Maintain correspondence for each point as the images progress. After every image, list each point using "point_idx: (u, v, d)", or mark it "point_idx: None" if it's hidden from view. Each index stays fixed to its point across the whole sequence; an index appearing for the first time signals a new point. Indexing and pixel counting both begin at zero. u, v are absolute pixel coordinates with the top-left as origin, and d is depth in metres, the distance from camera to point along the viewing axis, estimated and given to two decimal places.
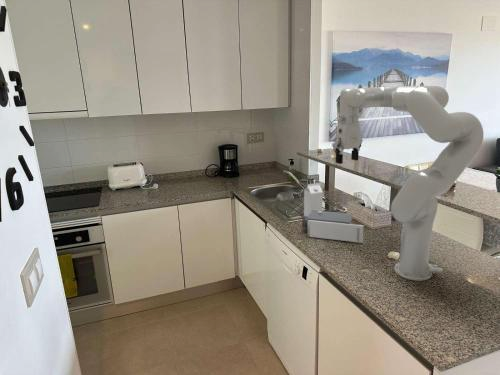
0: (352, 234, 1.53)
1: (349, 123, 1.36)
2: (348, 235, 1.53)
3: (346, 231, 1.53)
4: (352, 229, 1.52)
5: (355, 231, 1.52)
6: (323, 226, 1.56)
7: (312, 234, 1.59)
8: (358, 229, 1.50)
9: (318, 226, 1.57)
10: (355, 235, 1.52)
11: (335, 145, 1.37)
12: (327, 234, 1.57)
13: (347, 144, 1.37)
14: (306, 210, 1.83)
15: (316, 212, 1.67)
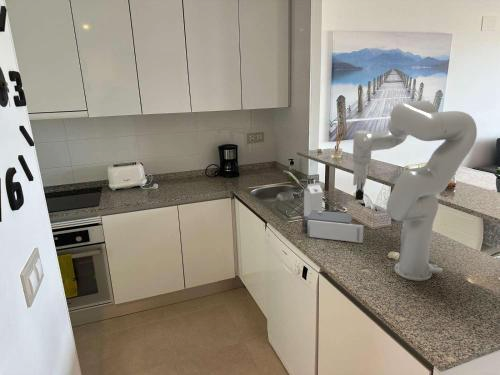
0: (352, 234, 1.53)
1: None
2: (348, 235, 1.53)
3: (346, 231, 1.53)
4: (352, 229, 1.52)
5: (355, 231, 1.52)
6: (323, 226, 1.56)
7: (312, 234, 1.59)
8: (358, 229, 1.50)
9: (318, 226, 1.57)
10: (355, 235, 1.52)
11: None
12: (327, 234, 1.57)
13: None
14: (306, 210, 1.83)
15: (316, 212, 1.67)
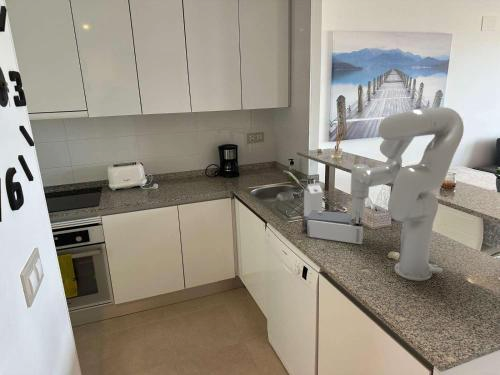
0: (352, 235, 1.51)
1: None
2: (348, 236, 1.52)
3: (346, 232, 1.52)
4: (351, 230, 1.51)
5: (355, 232, 1.50)
6: (323, 226, 1.56)
7: (312, 234, 1.59)
8: (357, 230, 1.49)
9: (317, 226, 1.57)
10: (355, 236, 1.51)
11: None
12: (326, 234, 1.56)
13: None
14: (306, 210, 1.83)
15: (316, 212, 1.67)
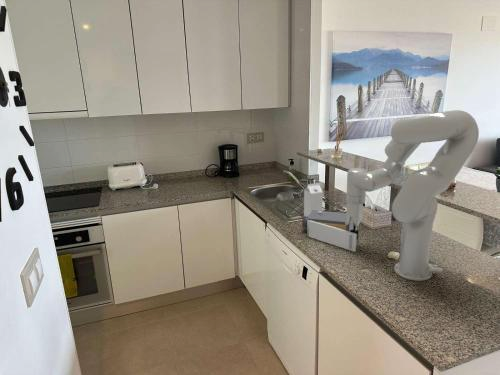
0: (345, 241, 1.46)
1: None
2: (342, 241, 1.47)
3: (340, 237, 1.48)
4: (345, 235, 1.46)
5: (348, 238, 1.45)
6: (320, 228, 1.54)
7: (311, 234, 1.59)
8: (350, 236, 1.43)
9: (315, 227, 1.56)
10: (348, 242, 1.45)
11: None
12: (323, 237, 1.54)
13: None
14: (306, 210, 1.83)
15: (316, 212, 1.67)
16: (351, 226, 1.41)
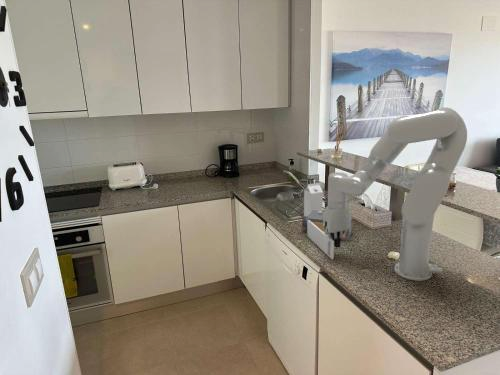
0: (326, 246, 1.42)
1: None
2: (324, 246, 1.43)
3: (324, 241, 1.44)
4: (326, 240, 1.41)
5: (328, 244, 1.40)
6: (313, 229, 1.53)
7: (309, 235, 1.59)
8: (328, 243, 1.38)
9: (311, 228, 1.55)
10: (328, 248, 1.41)
11: None
12: (315, 239, 1.52)
13: None
14: (306, 210, 1.83)
15: (316, 212, 1.67)
16: (325, 231, 1.37)
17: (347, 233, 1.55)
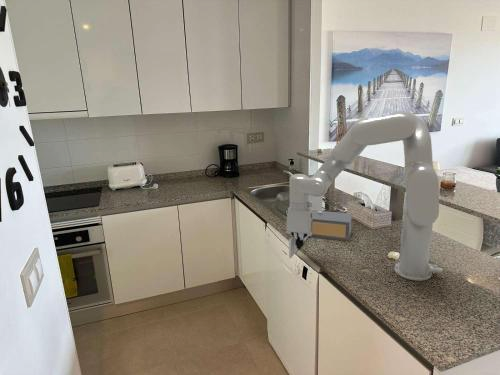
0: None
1: None
2: None
3: None
4: None
5: None
6: None
7: None
8: None
9: None
10: None
11: None
12: None
13: None
14: None
15: (316, 212, 1.67)
16: None
17: (347, 233, 1.55)
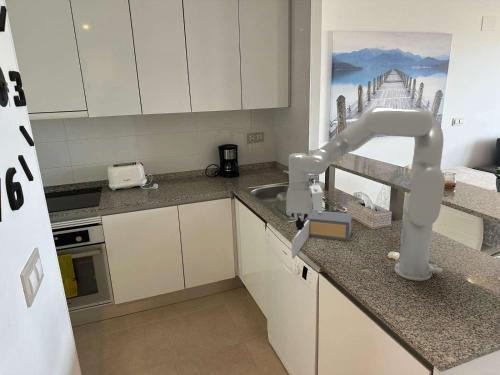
0: None
1: None
2: None
3: None
4: None
5: None
6: None
7: None
8: None
9: None
10: None
11: None
12: None
13: None
14: None
15: (316, 212, 1.67)
16: None
17: (347, 233, 1.55)
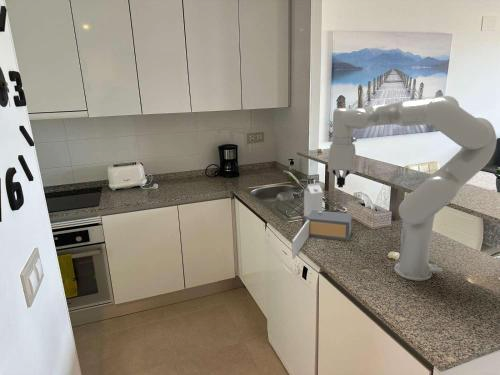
0: None
1: None
2: None
3: None
4: None
5: None
6: None
7: None
8: None
9: None
10: None
11: None
12: None
13: None
14: (306, 210, 1.83)
15: (316, 212, 1.67)
16: (328, 167, 1.36)
17: (347, 233, 1.55)
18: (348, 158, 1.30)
